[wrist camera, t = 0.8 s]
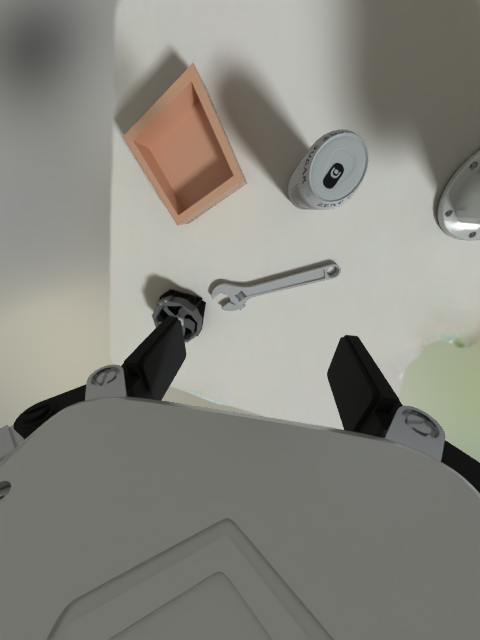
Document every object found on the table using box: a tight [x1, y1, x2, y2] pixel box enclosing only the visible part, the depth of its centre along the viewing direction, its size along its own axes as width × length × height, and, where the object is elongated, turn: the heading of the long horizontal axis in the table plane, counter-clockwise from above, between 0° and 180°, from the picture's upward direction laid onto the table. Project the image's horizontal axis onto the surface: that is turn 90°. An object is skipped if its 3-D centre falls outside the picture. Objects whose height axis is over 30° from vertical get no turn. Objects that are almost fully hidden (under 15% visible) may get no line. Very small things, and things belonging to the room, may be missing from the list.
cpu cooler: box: [152, 289, 206, 342], centre depth 42 cm, size 10×6×10 cm
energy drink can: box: [288, 130, 368, 210], centre depth 23 cm, size 6×6×15 cm
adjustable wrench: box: [211, 263, 341, 311], centre depth 38 cm, size 25×6×2 cm, turn 103°
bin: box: [123, 63, 247, 225], centre depth 27 cm, size 12×12×5 cm
